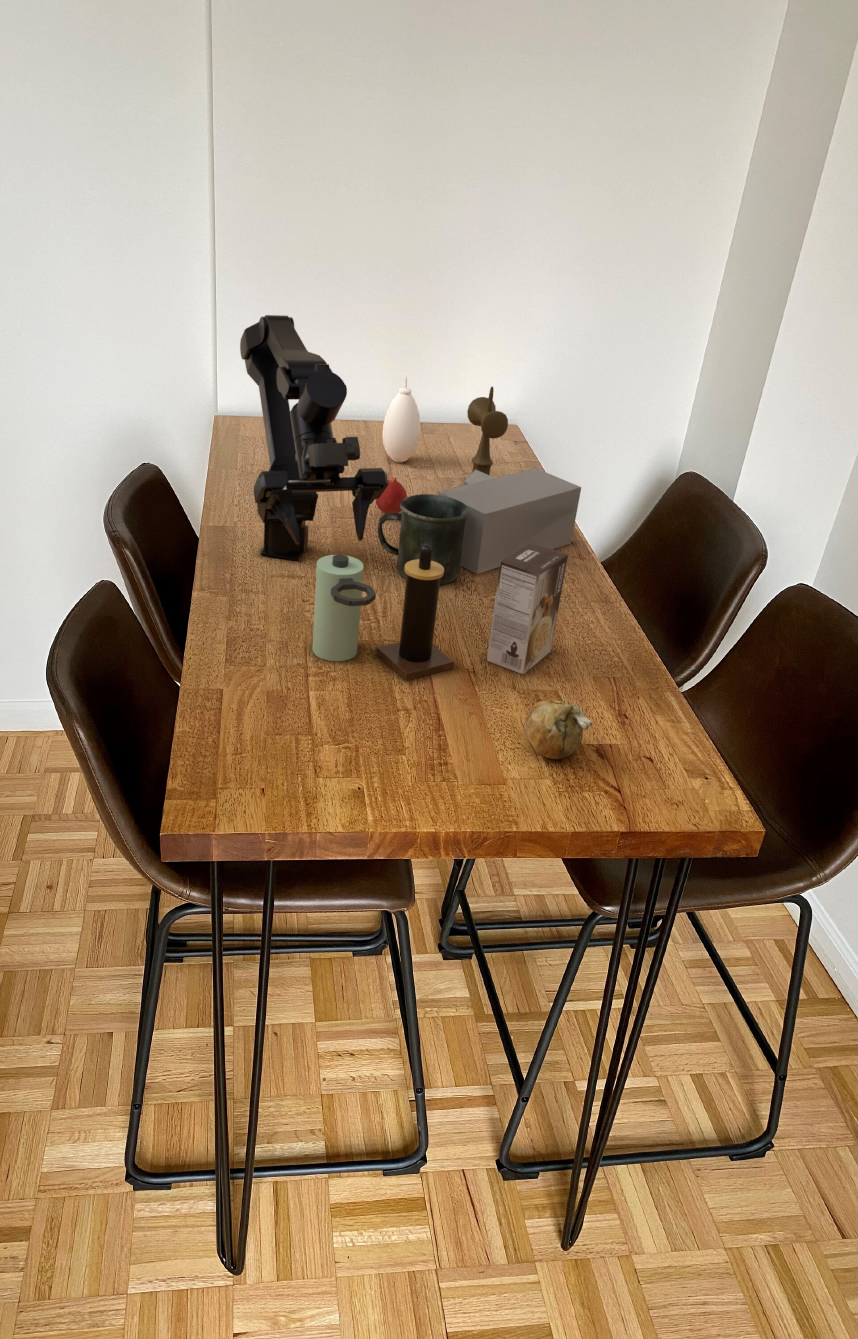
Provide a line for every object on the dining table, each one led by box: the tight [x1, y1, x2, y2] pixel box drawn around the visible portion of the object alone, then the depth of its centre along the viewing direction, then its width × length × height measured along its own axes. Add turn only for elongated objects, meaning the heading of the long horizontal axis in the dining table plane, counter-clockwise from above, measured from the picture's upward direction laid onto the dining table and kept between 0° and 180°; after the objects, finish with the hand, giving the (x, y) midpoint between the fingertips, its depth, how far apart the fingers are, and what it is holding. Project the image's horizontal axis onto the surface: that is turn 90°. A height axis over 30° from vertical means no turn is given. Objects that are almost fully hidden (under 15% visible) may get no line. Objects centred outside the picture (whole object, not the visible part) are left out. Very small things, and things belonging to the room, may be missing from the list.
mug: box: [377, 493, 469, 586], centre depth 172 cm, size 11×15×12 cm
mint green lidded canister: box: [311, 554, 377, 662], centre depth 144 cm, size 13×6×14 cm, turn 19°
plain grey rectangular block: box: [437, 467, 582, 575], centre depth 189 cm, size 25×23×11 cm
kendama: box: [466, 386, 509, 478], centre depth 210 cm, size 6×10×20 cm, turn 15°
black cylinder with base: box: [375, 545, 455, 682], centre depth 145 cm, size 8×8×18 cm
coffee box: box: [486, 543, 569, 675], centre depth 150 cm, size 9×6×16 cm
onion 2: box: [524, 700, 594, 760], centre depth 132 cm, size 8×8×8 cm
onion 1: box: [375, 475, 408, 514], centre depth 193 cm, size 6×6×8 cm
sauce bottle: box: [382, 375, 421, 464], centre depth 217 cm, size 8×8×18 cm
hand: (329, 541), depth 150 cm, fingers open, 9 cm apart
